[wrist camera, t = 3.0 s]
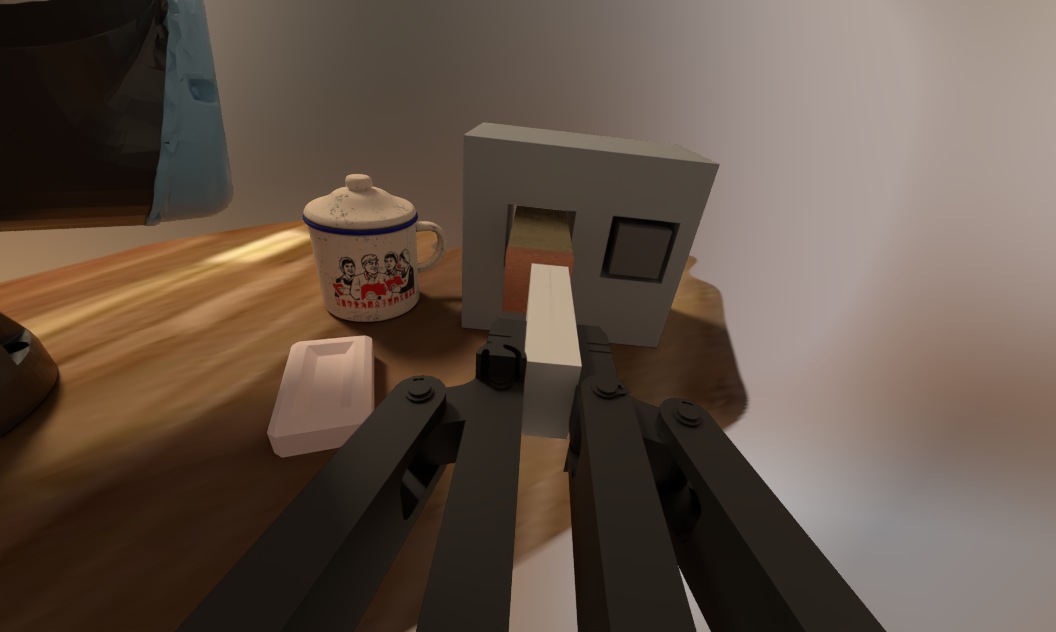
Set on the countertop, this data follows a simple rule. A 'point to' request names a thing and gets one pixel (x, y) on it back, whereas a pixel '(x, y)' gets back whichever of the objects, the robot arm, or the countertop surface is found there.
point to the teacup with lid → (368, 251)
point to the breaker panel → (585, 221)
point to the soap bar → (323, 395)
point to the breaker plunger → (534, 251)
